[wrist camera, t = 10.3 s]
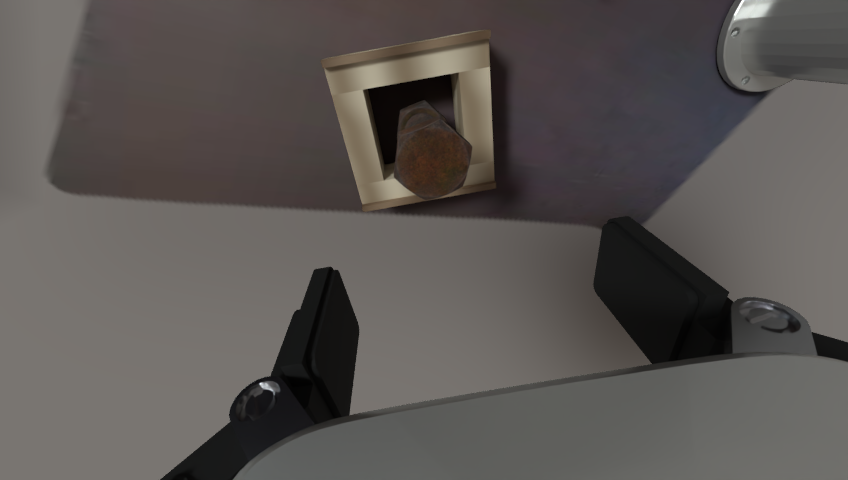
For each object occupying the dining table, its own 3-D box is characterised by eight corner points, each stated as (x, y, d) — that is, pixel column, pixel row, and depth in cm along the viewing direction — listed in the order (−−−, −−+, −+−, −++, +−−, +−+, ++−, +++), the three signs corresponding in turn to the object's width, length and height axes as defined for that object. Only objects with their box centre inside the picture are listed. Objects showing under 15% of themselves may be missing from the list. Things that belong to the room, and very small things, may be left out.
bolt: (453, 117, 35) (489, 161, 22) (423, 153, 37) (440, 213, 24) (411, 79, 33) (424, 104, 20) (381, 120, 35) (376, 167, 22)
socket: (475, 31, 31) (490, 29, 26) (483, 170, 39) (496, 188, 34) (331, 57, 31) (320, 60, 27) (366, 190, 39) (363, 212, 34)
